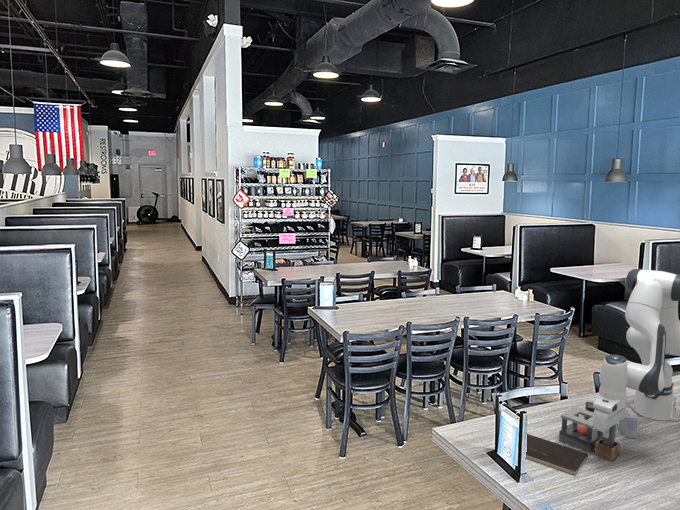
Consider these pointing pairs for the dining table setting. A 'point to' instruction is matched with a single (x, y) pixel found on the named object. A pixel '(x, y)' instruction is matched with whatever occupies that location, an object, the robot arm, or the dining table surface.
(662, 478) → the dining table surface
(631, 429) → the medicine box
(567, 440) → the grey ball cage
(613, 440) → the dark gray rectangular block
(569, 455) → the hardcover book
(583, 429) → the button
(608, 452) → the brown wooden box
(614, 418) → the robot arm
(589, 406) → the electrical switch
